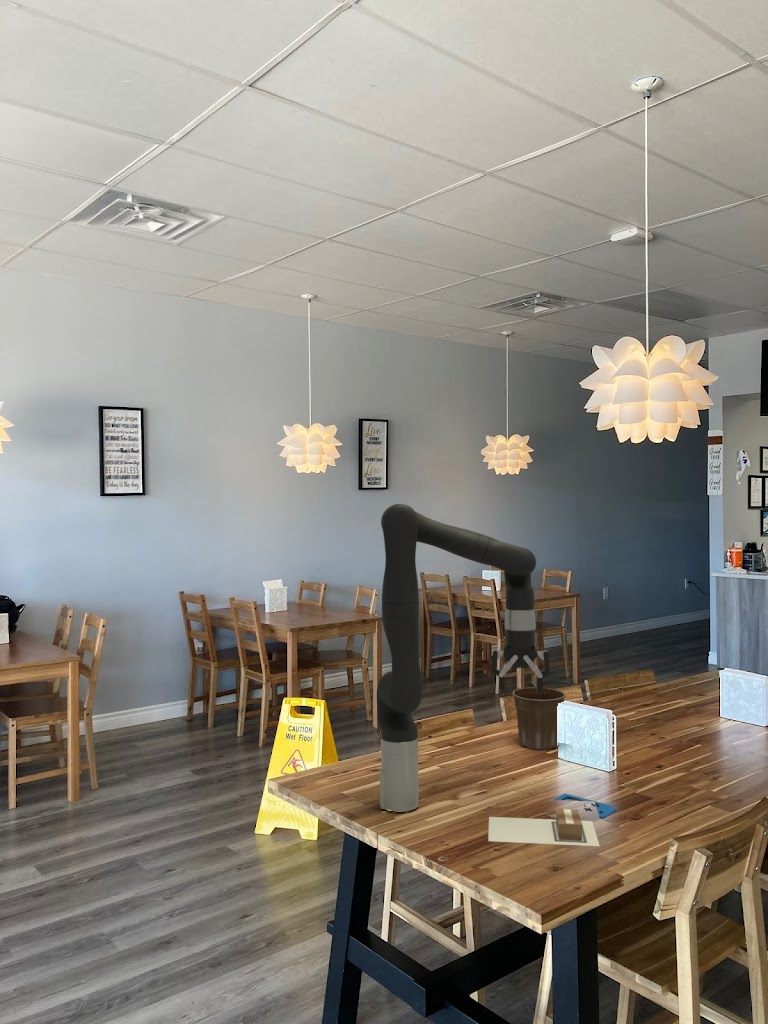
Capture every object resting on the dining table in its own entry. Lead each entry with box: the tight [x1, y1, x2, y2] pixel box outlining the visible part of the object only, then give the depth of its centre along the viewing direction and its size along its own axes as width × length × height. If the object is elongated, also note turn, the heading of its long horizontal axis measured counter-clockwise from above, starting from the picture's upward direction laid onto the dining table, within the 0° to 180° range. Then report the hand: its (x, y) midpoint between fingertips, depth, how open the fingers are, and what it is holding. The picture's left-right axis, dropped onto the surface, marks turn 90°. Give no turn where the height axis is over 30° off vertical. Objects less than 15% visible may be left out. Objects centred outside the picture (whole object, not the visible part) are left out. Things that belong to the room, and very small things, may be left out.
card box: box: [555, 808, 582, 841], centre depth 185 cm, size 9×5×4 cm, turn 172°
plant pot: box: [512, 686, 566, 751], centre depth 253 cm, size 16×16×16 cm
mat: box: [487, 816, 600, 847], centre depth 185 cm, size 24×14×1 cm, turn 82°
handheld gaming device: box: [552, 793, 616, 820], centre depth 201 cm, size 8×1×15 cm
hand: (520, 691), depth 203 cm, fingers open, 8 cm apart
